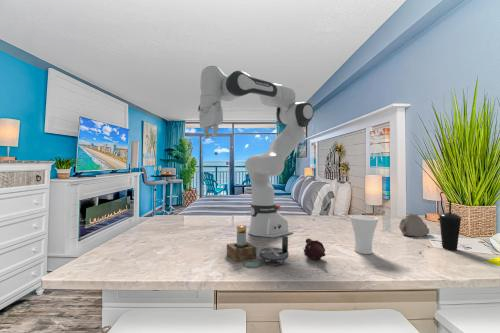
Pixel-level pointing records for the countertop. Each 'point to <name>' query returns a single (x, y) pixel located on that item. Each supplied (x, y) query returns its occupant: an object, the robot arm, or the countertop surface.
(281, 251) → the handwheel
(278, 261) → the wheel post
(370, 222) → the cup
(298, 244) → the countertop surface
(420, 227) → the pumice stone
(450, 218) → the drinking cup
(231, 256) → the block
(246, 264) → the coaster
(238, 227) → the orange topped grey cylinder
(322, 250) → the maroon cone figure
